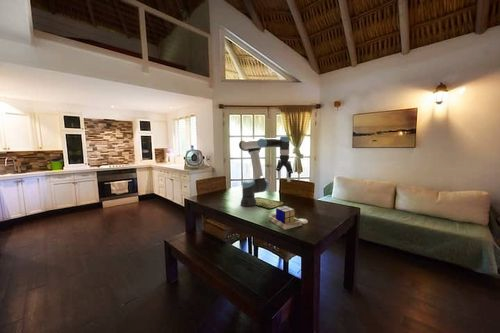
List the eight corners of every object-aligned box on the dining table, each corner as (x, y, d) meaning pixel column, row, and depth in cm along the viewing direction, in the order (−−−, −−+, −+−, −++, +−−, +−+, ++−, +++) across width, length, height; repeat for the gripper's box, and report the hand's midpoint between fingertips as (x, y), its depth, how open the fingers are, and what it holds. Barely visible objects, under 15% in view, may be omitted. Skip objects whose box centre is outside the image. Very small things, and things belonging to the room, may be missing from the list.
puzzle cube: (275, 220, 160) (275, 208, 158) (285, 218, 165) (285, 205, 164) (284, 225, 151) (284, 212, 150) (294, 222, 157) (294, 209, 156)
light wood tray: (268, 219, 164) (268, 215, 164) (284, 216, 171) (284, 212, 171) (284, 229, 146) (284, 225, 146) (301, 225, 153) (301, 221, 153)
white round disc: (294, 220, 162) (294, 219, 162) (302, 218, 165) (302, 218, 165) (301, 224, 155) (301, 223, 155) (310, 222, 158) (310, 221, 158)
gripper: (272, 153, 181) (271, 177, 184) (290, 156, 159) (289, 183, 162) (279, 153, 185) (278, 177, 187) (298, 155, 163) (297, 182, 165)
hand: (283, 180), depth 175 cm, fingers open, 13 cm apart
